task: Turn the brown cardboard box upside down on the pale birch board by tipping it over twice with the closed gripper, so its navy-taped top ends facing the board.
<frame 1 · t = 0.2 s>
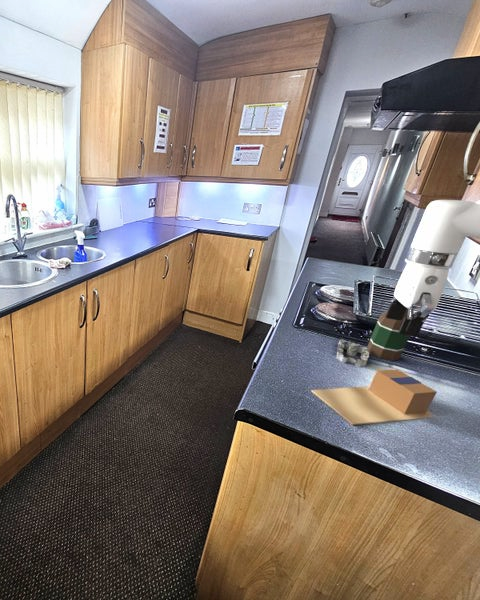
hand: (399, 326, 79), 18 cm above the worktop, tool pointing down, fingers open, 9 cm apart
beer bottle: (380, 357, 100), on the worktop
egg carton: (349, 359, 99), on the worktop
board: (370, 403, 80), on the worktop
box: (395, 400, 81), resting on board
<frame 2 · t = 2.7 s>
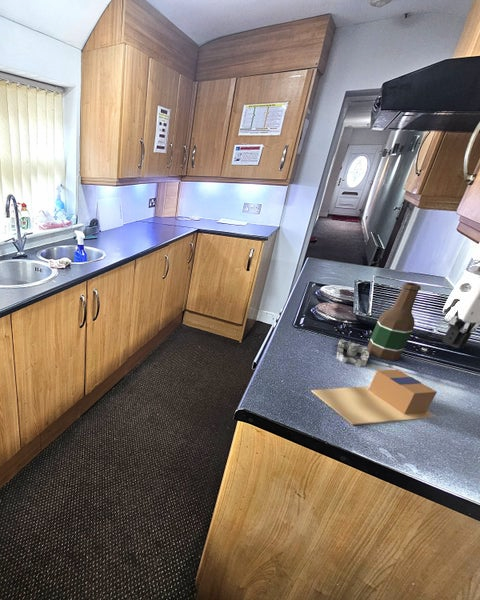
hand: (452, 344, 76), 16 cm above the worktop, tool pointing down, fingers closed
nothing on the worktop moved.
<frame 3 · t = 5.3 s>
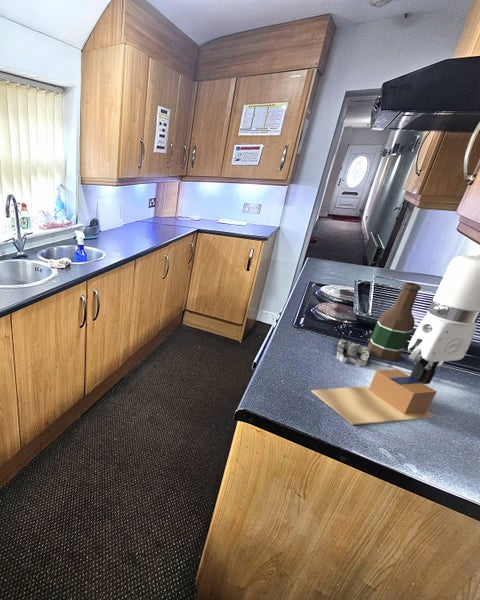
hand: (419, 380, 79), 6 cm above the worktop, tool pointing down, fingers closed
box: (395, 400, 81), resting on board, touching gripper
everything else where it was.
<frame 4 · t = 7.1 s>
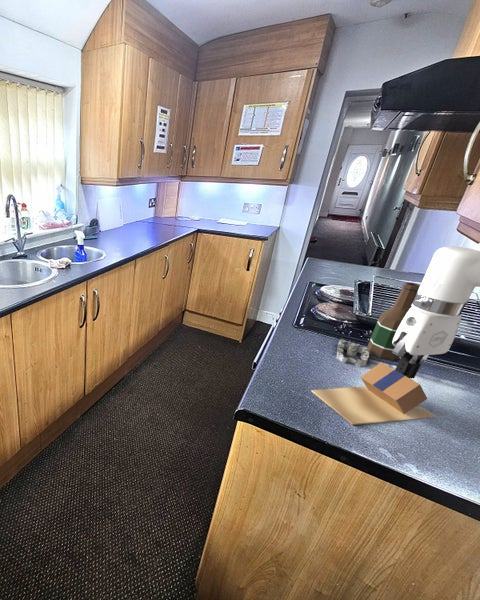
hand: (404, 374, 78), 8 cm above the worktop, tool pointing down, fingers closed
box: (396, 394, 80), point 2 cm above the worktop, tilted 43°, touching board
everything else where it was.
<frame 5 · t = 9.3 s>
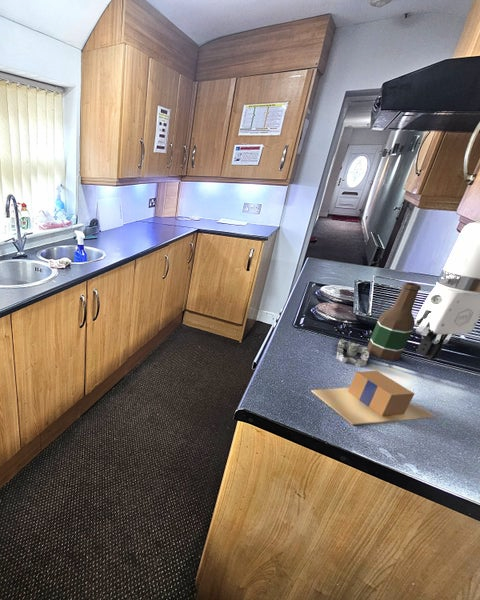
hand: (425, 355, 76), 13 cm above the worktop, tool pointing down, fingers closed
box: (389, 391, 79), point 3 cm above the worktop, tilted 90°, touching board
everything else where it was.
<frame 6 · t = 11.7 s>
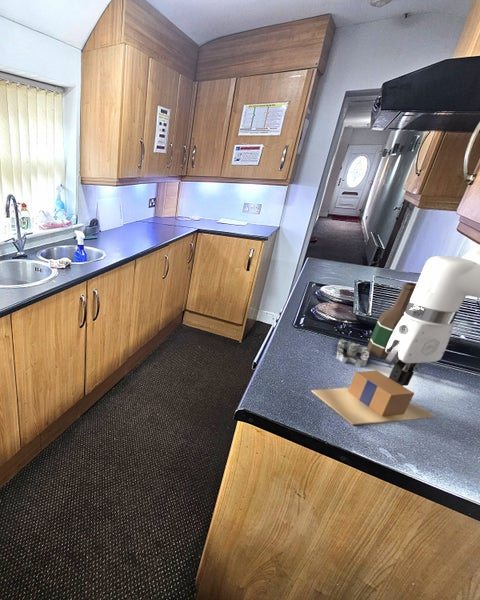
hand: (397, 382, 78), 6 cm above the worktop, tool pointing down, fingers closed
box: (389, 391, 79), point 4 cm above the worktop, tilted 91°, touching board, gripper
everything else where it was.
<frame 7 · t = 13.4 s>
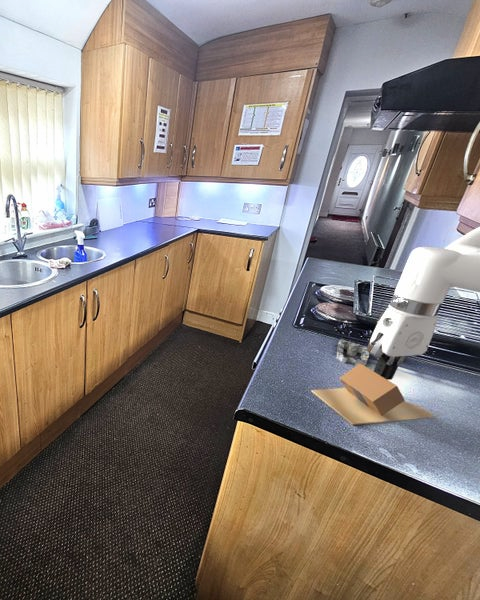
hand: (382, 376, 77), 8 cm above the worktop, tool pointing down, fingers closed
box: (381, 381, 78), point 7 cm above the worktop, tilted 133°, touching board, gripper
everything else where it was.
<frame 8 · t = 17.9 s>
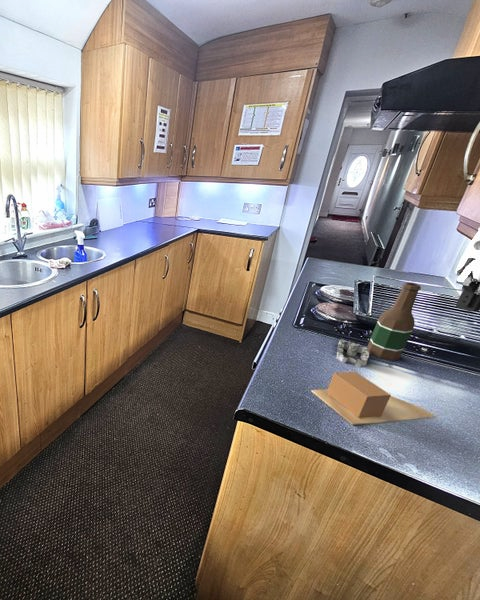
hand: (466, 308, 72), 25 cm above the worktop, tool pointing down, fingers closed
box: (361, 383, 77), point 6 cm above the worktop, tilted 180°, touching board
everything else where it was.
at the end: box tilted 180°; box inside the target area (0.1 cm from its centre), point 6.5 cm above the worktop; the gripper is holding nothing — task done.
